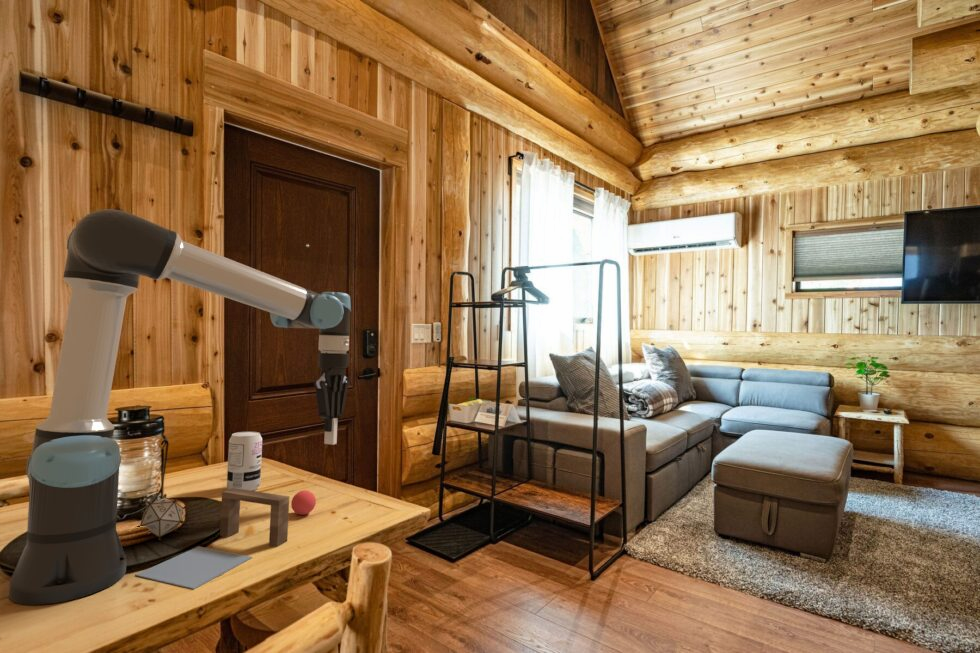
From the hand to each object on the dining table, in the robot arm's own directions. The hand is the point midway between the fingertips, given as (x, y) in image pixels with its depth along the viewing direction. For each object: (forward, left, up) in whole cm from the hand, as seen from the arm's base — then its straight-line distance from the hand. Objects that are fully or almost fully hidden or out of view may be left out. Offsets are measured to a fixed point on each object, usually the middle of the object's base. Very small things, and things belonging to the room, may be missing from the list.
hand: (330, 443), depth 131 cm
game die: (-32, +18, -15) cm, 40 cm away
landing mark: (-40, 0, -15) cm, 42 cm away
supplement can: (0, +27, -15) cm, 31 cm away
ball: (-10, 0, -12) cm, 16 cm away
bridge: (-26, 0, -15) cm, 30 cm away
